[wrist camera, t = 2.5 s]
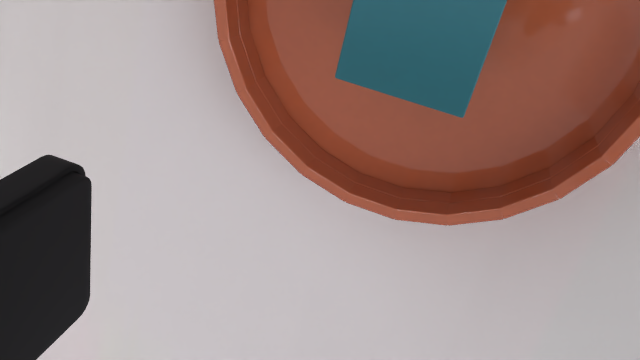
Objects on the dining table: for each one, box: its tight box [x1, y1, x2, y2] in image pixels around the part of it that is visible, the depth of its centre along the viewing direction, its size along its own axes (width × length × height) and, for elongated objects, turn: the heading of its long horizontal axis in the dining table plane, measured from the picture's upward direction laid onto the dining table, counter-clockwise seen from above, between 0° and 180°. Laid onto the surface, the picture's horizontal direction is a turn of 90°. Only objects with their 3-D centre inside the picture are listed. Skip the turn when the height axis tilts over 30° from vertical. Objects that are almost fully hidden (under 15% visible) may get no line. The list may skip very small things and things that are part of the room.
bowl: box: [214, 0, 640, 225], centre depth 24 cm, size 19×19×3 cm
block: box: [335, 0, 507, 118], centre depth 22 cm, size 5×5×6 cm
